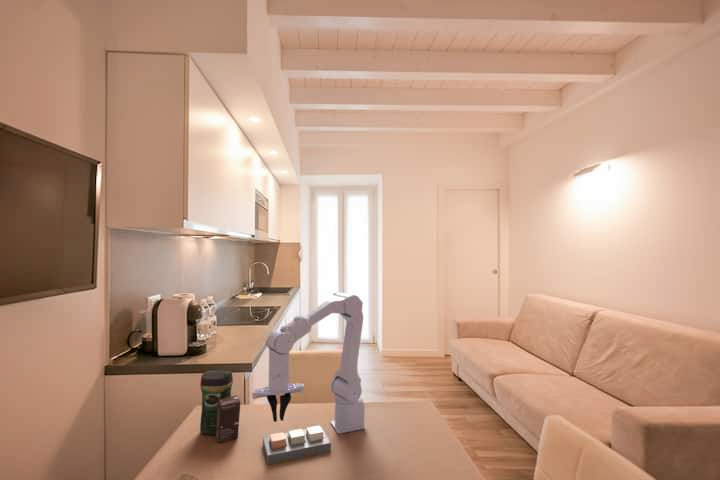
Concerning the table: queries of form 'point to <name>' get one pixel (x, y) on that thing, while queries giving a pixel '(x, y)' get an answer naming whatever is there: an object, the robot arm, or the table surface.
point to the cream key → (314, 433)
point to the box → (227, 418)
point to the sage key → (296, 437)
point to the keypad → (295, 449)
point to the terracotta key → (277, 440)
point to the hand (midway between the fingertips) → (278, 419)
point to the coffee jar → (213, 397)
